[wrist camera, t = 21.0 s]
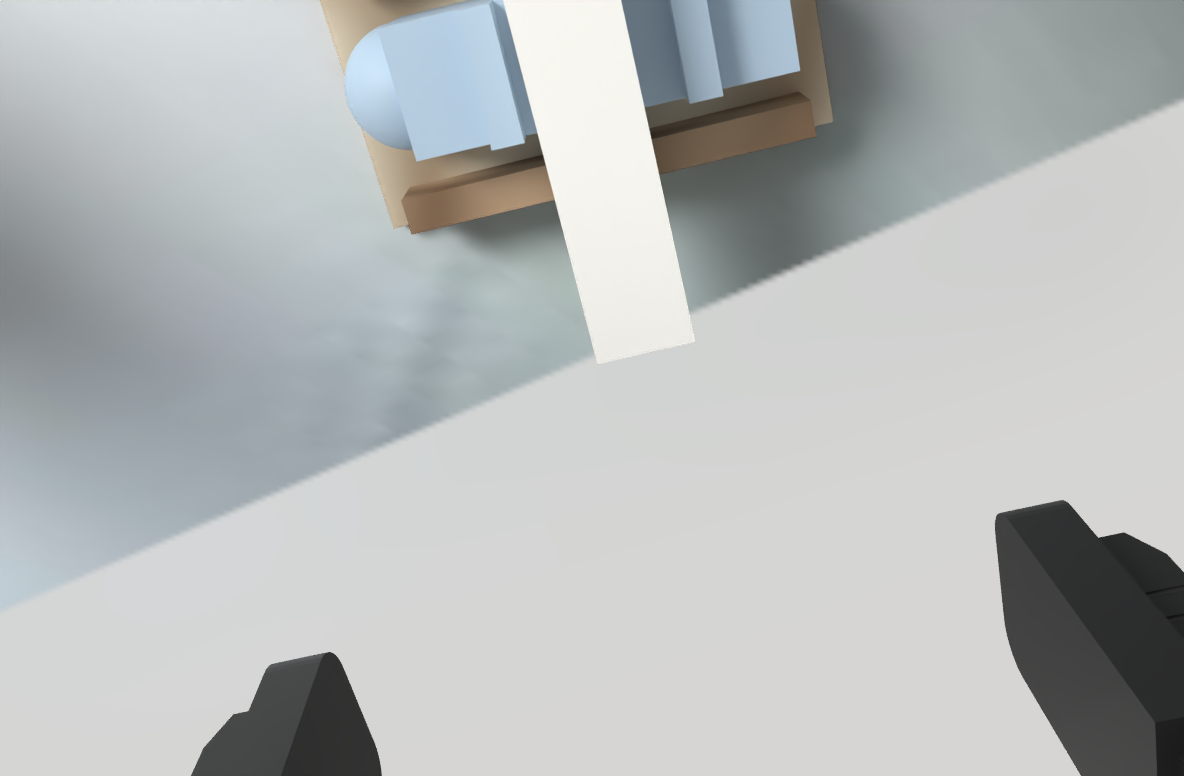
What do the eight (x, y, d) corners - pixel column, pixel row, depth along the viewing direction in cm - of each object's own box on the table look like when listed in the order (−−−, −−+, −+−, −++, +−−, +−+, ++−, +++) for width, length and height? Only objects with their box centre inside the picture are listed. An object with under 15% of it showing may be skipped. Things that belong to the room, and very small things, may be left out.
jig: (398, 221, 39) (384, 244, 37) (310, -52, 36) (287, -51, 33) (827, 117, 38) (846, 132, 35) (783, -179, 34) (801, -187, 31)
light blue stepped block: (379, 148, 37) (347, 185, 32) (342, 31, 36) (302, 49, 30) (774, 53, 36) (808, 75, 31) (755, -72, 35) (787, -71, 29)
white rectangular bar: (595, 324, 35) (597, 364, 32) (457, -215, 29) (442, -232, 26) (684, 303, 35) (695, 341, 32) (564, -244, 29) (563, -265, 25)
